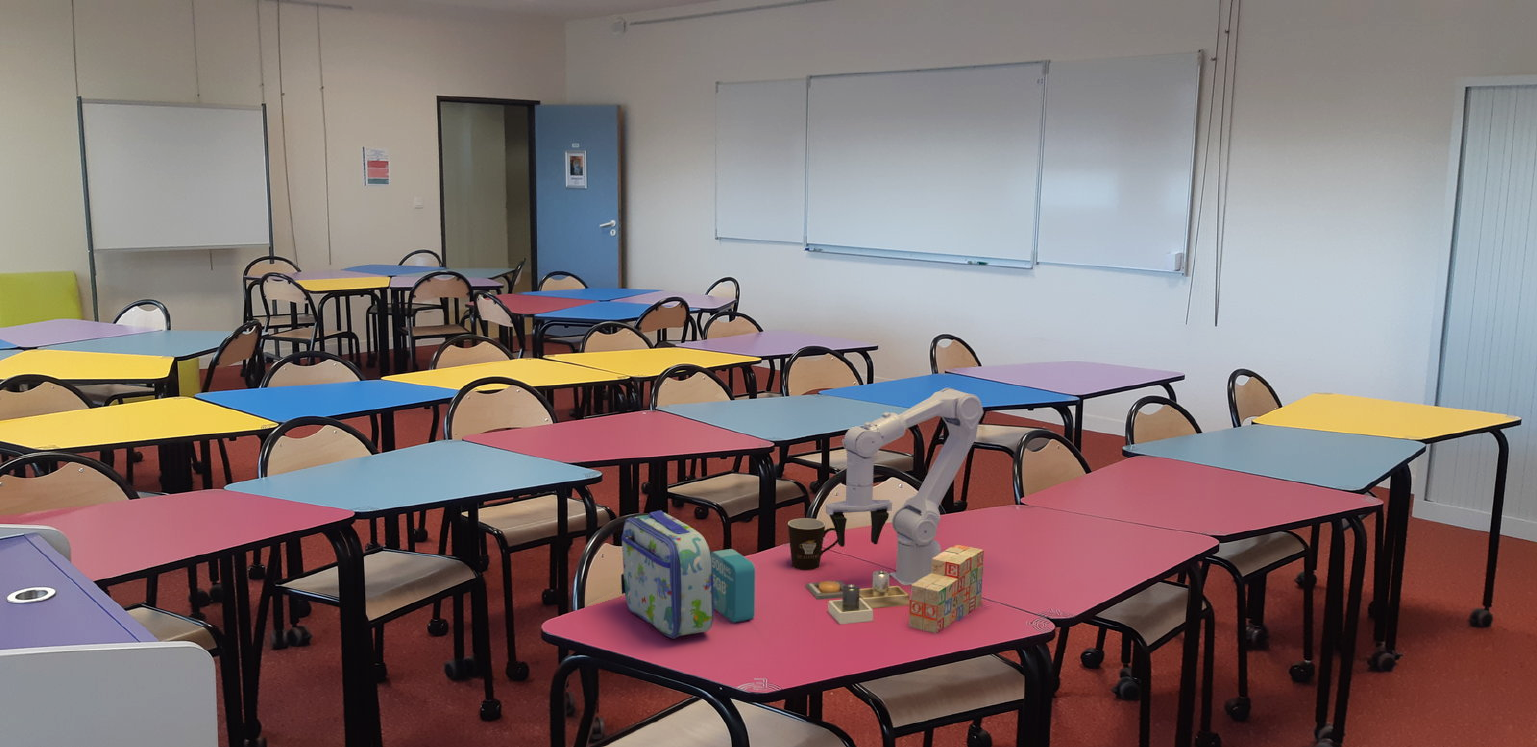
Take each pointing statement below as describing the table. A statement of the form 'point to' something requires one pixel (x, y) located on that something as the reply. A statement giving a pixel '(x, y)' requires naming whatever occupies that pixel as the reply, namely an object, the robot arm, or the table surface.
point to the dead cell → (850, 598)
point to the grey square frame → (818, 595)
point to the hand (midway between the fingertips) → (857, 544)
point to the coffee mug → (807, 542)
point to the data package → (733, 585)
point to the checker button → (829, 587)
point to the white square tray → (850, 612)
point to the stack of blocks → (947, 589)
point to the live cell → (880, 584)
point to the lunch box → (667, 574)
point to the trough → (885, 598)
